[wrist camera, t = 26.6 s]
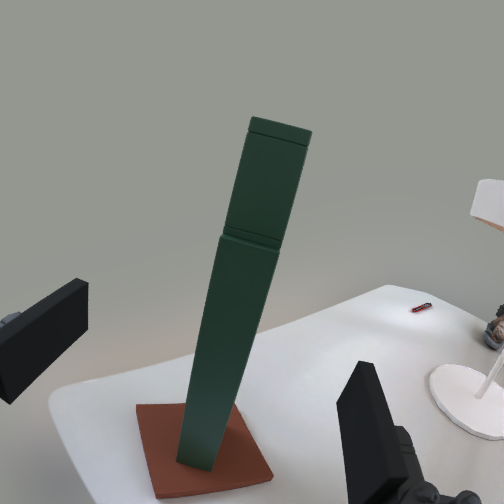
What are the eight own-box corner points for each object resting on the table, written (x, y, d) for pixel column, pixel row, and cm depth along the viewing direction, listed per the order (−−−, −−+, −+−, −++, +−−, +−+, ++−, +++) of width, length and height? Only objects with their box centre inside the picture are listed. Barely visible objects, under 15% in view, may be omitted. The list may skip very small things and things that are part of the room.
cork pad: (156, 499, 18) (156, 494, 17) (135, 410, 26) (136, 404, 26) (270, 480, 22) (274, 475, 22) (231, 405, 31) (233, 399, 30)
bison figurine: (500, 356, 54) (519, 318, 51) (478, 344, 58) (497, 307, 56) (500, 341, 63) (516, 308, 60) (481, 331, 67) (497, 297, 64)
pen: (408, 310, 70) (410, 308, 69) (427, 303, 78) (428, 301, 78) (415, 314, 68) (416, 311, 68) (433, 306, 77) (434, 304, 77)
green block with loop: (175, 461, 21) (249, 113, 14) (193, 415, 27) (261, 128, 19) (210, 472, 21) (313, 129, 13) (224, 424, 27) (306, 139, 19)
